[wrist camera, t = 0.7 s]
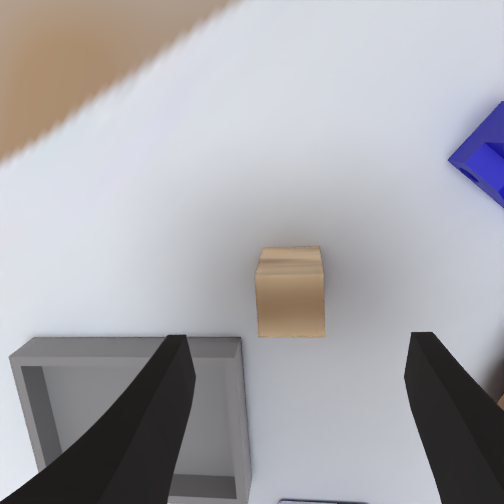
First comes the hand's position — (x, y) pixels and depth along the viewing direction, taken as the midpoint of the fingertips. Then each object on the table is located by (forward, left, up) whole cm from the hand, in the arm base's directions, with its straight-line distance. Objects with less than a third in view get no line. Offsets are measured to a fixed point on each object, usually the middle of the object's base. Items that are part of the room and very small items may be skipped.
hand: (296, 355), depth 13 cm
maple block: (-3, +1, -16) cm, 17 cm away
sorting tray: (-15, +14, -16) cm, 26 cm away
